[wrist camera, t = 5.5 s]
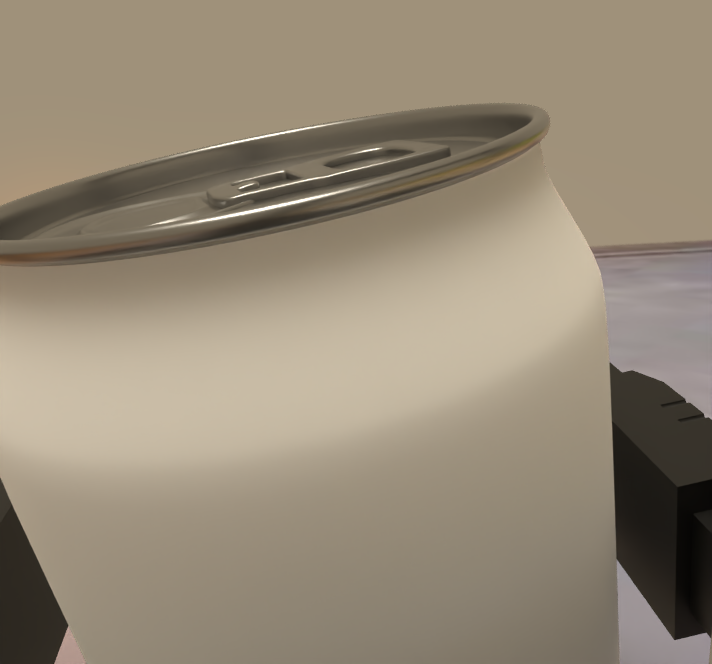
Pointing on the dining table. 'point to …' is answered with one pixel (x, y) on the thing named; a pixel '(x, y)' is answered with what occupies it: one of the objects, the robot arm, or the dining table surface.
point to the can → (316, 400)
